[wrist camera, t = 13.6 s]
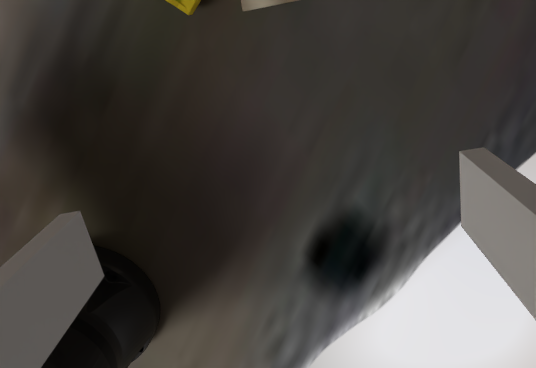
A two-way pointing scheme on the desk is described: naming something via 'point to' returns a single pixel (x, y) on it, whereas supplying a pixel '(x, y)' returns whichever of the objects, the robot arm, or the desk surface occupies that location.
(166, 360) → the desk surface
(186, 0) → the toy car
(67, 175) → the desk surface
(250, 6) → the shaft rig
